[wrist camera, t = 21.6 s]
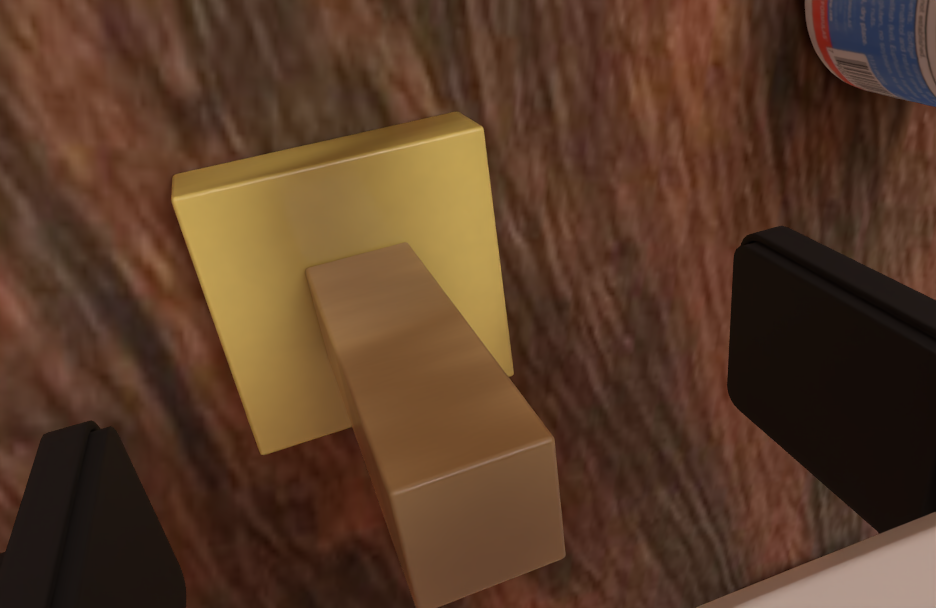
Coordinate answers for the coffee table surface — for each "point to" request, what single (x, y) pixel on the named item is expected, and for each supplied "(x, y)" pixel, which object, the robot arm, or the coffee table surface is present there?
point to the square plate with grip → (384, 337)
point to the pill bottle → (878, 44)
